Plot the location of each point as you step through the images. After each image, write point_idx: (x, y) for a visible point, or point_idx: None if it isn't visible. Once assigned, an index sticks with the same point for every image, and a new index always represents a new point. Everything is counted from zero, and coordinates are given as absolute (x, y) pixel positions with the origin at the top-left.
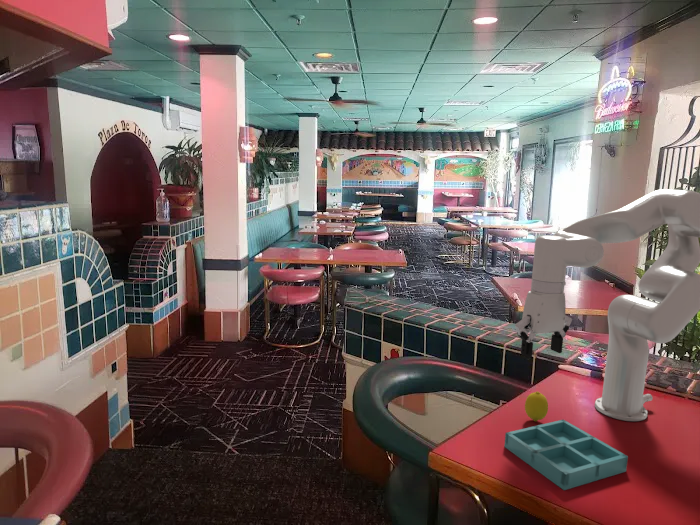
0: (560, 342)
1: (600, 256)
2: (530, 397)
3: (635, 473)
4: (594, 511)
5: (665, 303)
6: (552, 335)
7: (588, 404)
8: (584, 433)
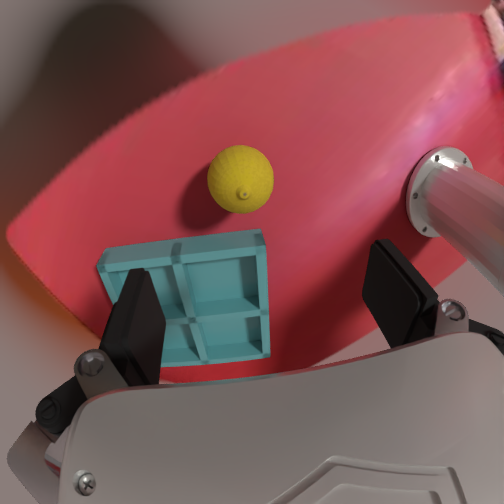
0: (386, 339)
1: None
2: (216, 187)
3: (275, 342)
4: (163, 374)
5: None
6: (416, 307)
7: (419, 143)
8: (261, 300)
